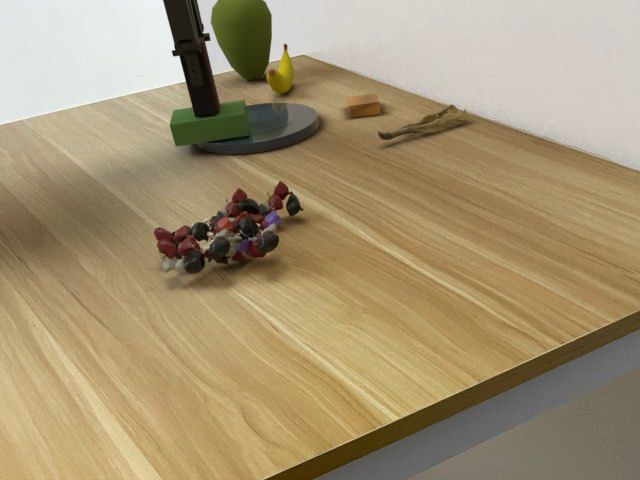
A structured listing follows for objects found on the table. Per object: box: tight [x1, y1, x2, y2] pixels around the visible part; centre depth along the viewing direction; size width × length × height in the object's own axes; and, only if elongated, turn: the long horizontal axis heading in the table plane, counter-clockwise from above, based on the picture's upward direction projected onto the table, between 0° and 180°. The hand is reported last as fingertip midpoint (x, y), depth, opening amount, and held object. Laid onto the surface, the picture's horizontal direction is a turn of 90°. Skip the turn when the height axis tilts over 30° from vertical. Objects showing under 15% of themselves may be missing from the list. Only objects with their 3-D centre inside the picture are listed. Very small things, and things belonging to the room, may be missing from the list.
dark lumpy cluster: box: [153, 180, 304, 275], centre depth 76 cm, size 15×14×5 cm
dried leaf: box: [377, 104, 470, 141], centre depth 97 cm, size 4×13×2 cm, turn 125°
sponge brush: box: [169, 37, 249, 147], centre depth 96 cm, size 9×6×10 cm, turn 98°
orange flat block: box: [346, 92, 382, 119], centre depth 105 cm, size 4×4×2 cm
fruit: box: [266, 43, 294, 94], centre depth 114 cm, size 10×2×5 cm, turn 174°
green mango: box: [210, 0, 273, 81], centre depth 118 cm, size 9×8×12 cm
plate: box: [195, 102, 320, 155], centre depth 103 cm, size 16×16×1 cm
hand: (207, 109), depth 98 cm, fingers closed on sponge brush, 3 cm apart
